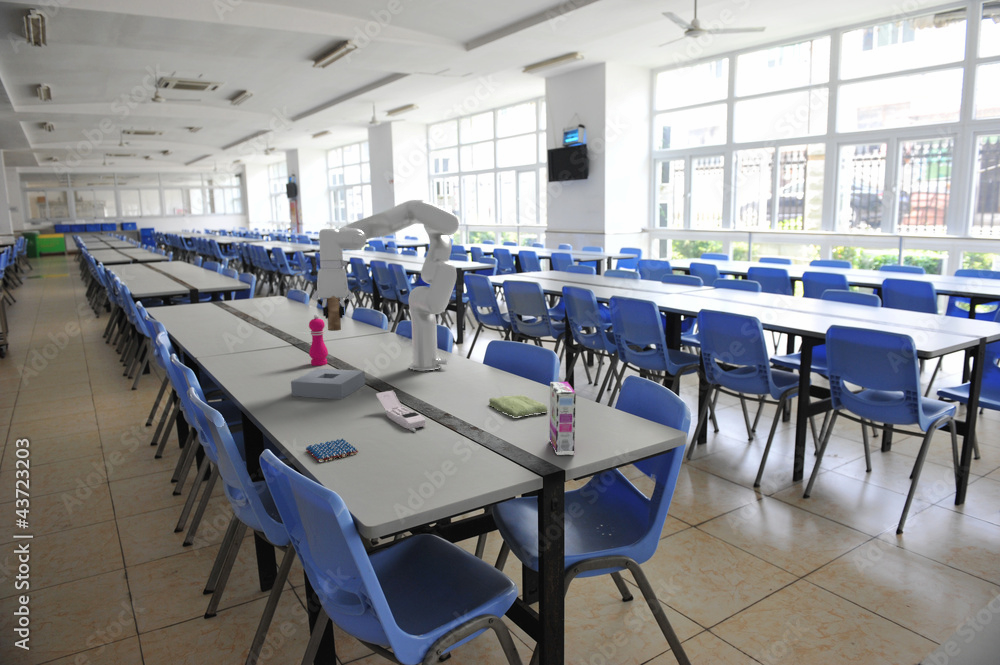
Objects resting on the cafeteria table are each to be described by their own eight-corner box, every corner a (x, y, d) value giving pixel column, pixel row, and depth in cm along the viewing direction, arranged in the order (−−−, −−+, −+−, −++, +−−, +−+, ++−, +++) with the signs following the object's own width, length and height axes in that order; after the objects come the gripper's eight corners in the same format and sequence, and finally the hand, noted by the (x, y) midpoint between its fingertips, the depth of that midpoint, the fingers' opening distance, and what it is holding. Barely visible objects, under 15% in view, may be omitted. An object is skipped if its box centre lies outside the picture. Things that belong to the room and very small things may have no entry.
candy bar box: (575, 455, 164) (576, 392, 161) (555, 456, 164) (556, 393, 161) (567, 440, 175) (568, 380, 172) (548, 440, 175) (549, 381, 171)
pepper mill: (323, 366, 258) (320, 316, 254) (306, 365, 259) (303, 315, 255) (331, 362, 265) (328, 313, 261) (315, 361, 266) (312, 312, 262)
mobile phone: (392, 389, 204) (430, 409, 183) (393, 408, 205) (430, 429, 185) (374, 393, 201) (410, 413, 180) (375, 411, 202) (411, 434, 181)
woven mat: (359, 456, 166) (359, 448, 166) (319, 465, 161) (318, 457, 160) (344, 444, 175) (343, 436, 174) (305, 452, 169) (304, 445, 169)
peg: (343, 328, 231) (341, 289, 228) (337, 331, 226) (335, 290, 224) (331, 328, 232) (330, 288, 229) (325, 330, 227) (323, 290, 225)
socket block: (365, 384, 231) (364, 370, 230) (341, 399, 214) (340, 384, 213) (318, 381, 235) (317, 368, 234) (291, 396, 218) (290, 381, 217)
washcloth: (521, 400, 213) (521, 390, 212) (550, 415, 197) (550, 404, 197) (485, 405, 207) (485, 396, 206) (512, 421, 191) (512, 411, 191)
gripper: (356, 264, 231) (358, 315, 234) (306, 264, 226) (308, 317, 230) (357, 265, 224) (359, 318, 227) (306, 266, 219) (308, 320, 222)
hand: (333, 317), depth 228 cm, fingers closed on peg, 4 cm apart
